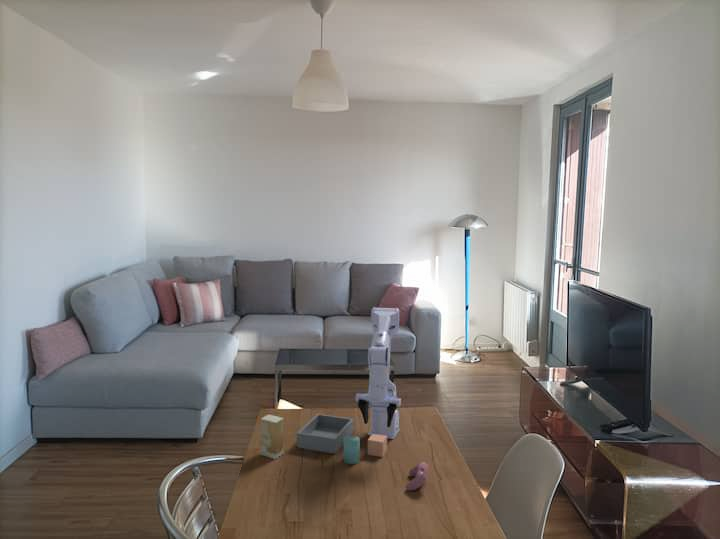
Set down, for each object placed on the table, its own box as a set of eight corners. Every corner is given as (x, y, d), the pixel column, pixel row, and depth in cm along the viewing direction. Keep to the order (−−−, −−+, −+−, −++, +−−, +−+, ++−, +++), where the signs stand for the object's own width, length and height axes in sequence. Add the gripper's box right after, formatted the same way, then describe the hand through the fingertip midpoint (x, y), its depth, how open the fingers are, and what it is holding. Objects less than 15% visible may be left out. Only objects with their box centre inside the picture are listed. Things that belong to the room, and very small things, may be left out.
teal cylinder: (361, 458, 174) (361, 436, 174) (356, 465, 170) (356, 443, 169) (346, 455, 176) (346, 434, 175) (341, 462, 171) (341, 441, 170)
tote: (353, 432, 193) (353, 418, 193) (335, 454, 177) (335, 439, 176) (317, 427, 198) (317, 413, 197) (296, 447, 181) (296, 433, 181)
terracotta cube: (386, 450, 180) (387, 435, 180) (382, 457, 175) (382, 442, 175) (372, 448, 182) (372, 433, 181) (367, 454, 177) (367, 439, 176)
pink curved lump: (418, 498, 154) (430, 478, 153) (404, 489, 155) (415, 469, 154) (421, 480, 164) (432, 461, 163) (408, 472, 165) (419, 453, 163)
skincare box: (259, 455, 176) (259, 418, 174) (268, 449, 179) (267, 413, 178) (276, 459, 173) (276, 422, 171) (284, 454, 176) (284, 417, 175)
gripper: (352, 384, 174) (352, 426, 176) (397, 390, 170) (396, 432, 171) (359, 378, 181) (359, 417, 183) (402, 383, 176) (401, 423, 178)
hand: (377, 424), depth 177 cm, fingers open, 7 cm apart
